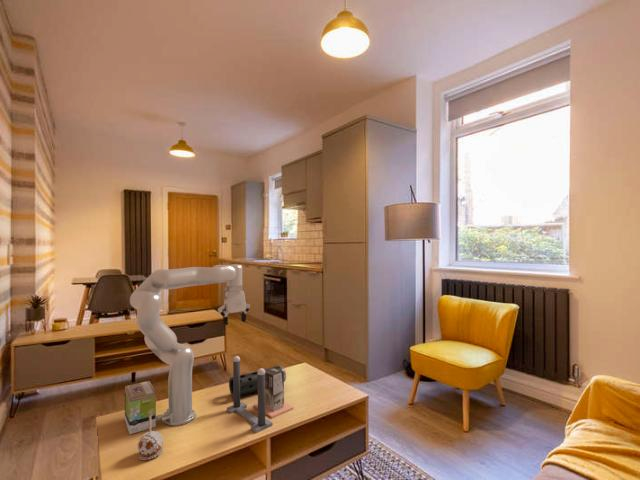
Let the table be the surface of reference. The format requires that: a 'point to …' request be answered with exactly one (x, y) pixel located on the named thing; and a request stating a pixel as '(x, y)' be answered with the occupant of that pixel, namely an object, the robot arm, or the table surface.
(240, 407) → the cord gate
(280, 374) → the coffee box
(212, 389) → the table surface
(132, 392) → the tea box
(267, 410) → the terracotta tile
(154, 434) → the decorative ornament
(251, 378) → the muzzle brake
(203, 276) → the robot arm
